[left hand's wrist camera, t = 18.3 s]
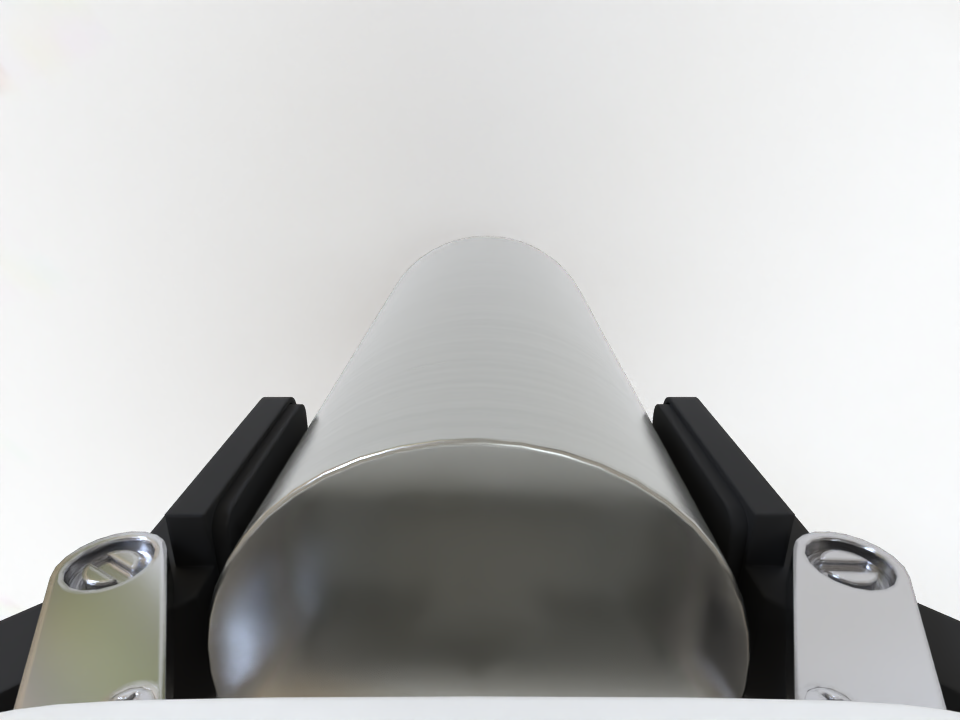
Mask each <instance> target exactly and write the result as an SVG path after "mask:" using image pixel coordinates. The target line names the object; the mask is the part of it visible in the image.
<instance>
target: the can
mask: <svg viewBox="0 0 960 720" xmlns="http://www.w3.org/2000/svg"><path fill="white" fill-rule="evenodd" d="M206 648H207V658H208V667H209V673H210V677H211V681H212V684H213V688H214V691H215V695H216V698H217V699H222V698H273V697H467V696H493V697H687V698H738V699H743V697H744V694H745V691H746V688H747V682H748V675H749V668H750V661H751V646H750V627H749V622H748V617H747V612H746V608H745V603H744V600H743V597H742V595H741V592H740V590H739V587H738V585H737V582H736V580H735V577H734V575H733V573H732V571H731V569H730V567H729V565H728V563H727V561H726V560H725V558H724V556H723V554H722V552H721V550H720V548H719V547H718V545H717V543H716V541H715V539H714V537H713V536H712V534H711V532H710V530H709V528H708V526H707V524H706V523H705V521H704V519H703V517H702V515H701V513H700V512H699V510H698V508H697V506H696V504H695V502H694V500H693V499H692V497H691V495H690V493H689V491H688V489H687V487H686V486H685V484H684V482H683V480H682V478H681V476H680V475H679V473H678V471H677V469H676V467H675V465H674V463H673V462H672V460H671V458H670V456H669V454H668V452H667V451H666V449H665V447H664V445H663V443H662V441H661V439H660V438H659V436H658V434H657V432H656V430H655V428H654V427H653V425H652V423H651V421H650V419H649V417H648V415H647V414H646V412H645V410H644V408H643V406H642V404H641V402H640V401H639V399H638V397H637V395H636V393H635V391H634V390H633V388H632V386H631V384H630V382H629V380H628V378H627V377H626V375H625V373H624V371H623V369H622V367H621V366H620V364H619V362H618V360H617V358H616V356H615V354H614V353H613V351H612V349H611V347H610V345H609V343H608V341H607V340H606V338H605V336H604V334H603V332H602V330H601V329H600V327H599V325H598V323H597V321H596V319H595V317H594V316H593V314H592V312H591V310H590V308H589V306H588V305H587V303H586V301H585V299H584V297H583V295H582V293H581V292H580V290H579V288H578V287H577V285H576V283H575V282H574V280H573V279H572V278H571V276H570V275H569V274H568V273H567V272H566V270H565V269H564V268H563V267H562V266H561V265H559V264H558V263H557V262H556V261H555V260H554V259H552V258H551V257H550V256H548V255H547V254H545V253H544V252H542V251H540V250H539V249H537V248H535V247H533V246H531V245H528V244H526V243H523V242H520V241H517V240H513V239H508V238H504V237H494V236H479V237H469V238H464V239H459V240H456V241H453V242H450V243H446V244H444V245H442V246H440V247H438V248H436V249H434V250H432V251H430V252H429V253H427V254H426V255H424V256H423V257H421V258H420V259H419V260H418V261H417V262H415V263H414V264H413V265H412V266H411V267H410V268H409V269H408V270H407V271H406V272H405V274H404V275H403V276H402V277H401V279H400V280H399V282H398V283H397V285H396V286H395V288H394V289H393V291H392V293H391V294H390V296H389V297H388V299H387V301H386V302H385V304H384V306H383V307H382V309H381V310H380V312H379V314H378V315H377V317H376V319H375V320H374V322H373V323H372V325H371V327H370V328H369V330H368V332H367V333H366V335H365V336H364V338H363V340H362V341H361V343H360V345H359V346H358V348H357V349H356V351H355V353H354V354H353V356H352V358H351V359H350V361H349V362H348V364H347V366H346V367H345V369H344V371H343V372H342V374H341V375H340V377H339V379H338V380H337V382H336V384H335V385H334V387H333V388H332V390H331V392H330V393H329V395H328V397H327V398H326V400H325V401H324V403H323V405H322V406H321V408H320V410H319V411H318V413H317V414H316V416H315V418H314V419H313V421H312V423H311V424H310V426H309V427H308V429H307V431H306V432H305V434H304V436H303V437H302V439H301V440H300V442H299V444H298V445H297V447H296V449H295V450H294V452H293V453H292V455H291V457H290V458H289V460H288V462H287V463H286V465H285V466H284V468H283V470H282V471H281V473H280V475H279V476H278V478H277V479H276V481H275V483H274V484H273V486H272V488H271V489H270V491H269V492H268V494H267V496H266V497H265V499H264V501H263V502H262V504H261V505H260V507H259V509H258V510H257V512H256V514H255V515H254V517H253V518H252V520H251V522H250V523H249V525H248V527H247V528H246V530H245V531H244V533H243V535H242V536H241V538H240V540H239V541H238V543H237V544H236V546H235V548H234V549H233V551H232V553H231V554H230V556H229V557H228V559H227V561H226V563H225V565H224V568H223V570H222V572H221V574H220V577H219V579H218V581H217V583H216V586H215V588H214V592H213V597H212V601H211V605H210V609H209V613H208V623H207V638H206Z"/></svg>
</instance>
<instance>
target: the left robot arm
mask: <svg viewBox="0 0 960 720" xmlns="http://www.w3.org/2000/svg"><path fill="white" fill-rule="evenodd" d="M652 425H653V427H654V428H655V430H656V432H657V434H658V436H659V438H660V439H661V441H662V443H663V445H664V447H665V449H666V451H667V452H668V454H669V456H670V458H671V460H672V462H673V463H674V465H675V467H676V469H677V471H678V473H679V475H680V476H681V478H682V480H683V482H684V484H685V486H686V487H687V489H688V491H689V493H690V495H691V497H692V499H693V500H694V502H695V504H696V506H697V508H698V510H699V512H700V513H701V515H702V517H703V519H704V521H705V523H706V524H707V526H708V528H709V530H710V532H711V534H712V536H713V537H714V539H715V541H716V543H717V545H718V547H719V548H720V550H721V552H722V554H723V556H724V558H725V560H726V561H727V563H728V565H729V567H730V569H731V571H732V573H733V575H734V577H735V580H736V582H737V585H738V587H739V590H740V592H741V595H742V597H743V600H744V603H745V608H746V612H747V617H748V622H749V627H750V646H751V661H750V668H749V675H748V682H747V688H746V691H745V694H744V697H743V699H738V698H687V697H493V696H467V697H273V698H222V699H217V698H216V695H215V691H214V688H213V684H212V681H211V677H210V673H209V667H208V658H207V648H206V638H207V623H208V613H209V609H210V605H211V601H212V597H213V592H214V588H215V586H216V583H217V581H218V579H219V577H220V574H221V572H222V570H223V568H224V565H225V563H226V561H227V559H228V557H229V556H230V554H231V553H232V551H233V549H234V548H235V546H236V544H237V543H238V541H239V540H240V538H241V536H242V535H243V533H244V531H245V530H246V528H247V527H248V525H249V523H250V522H251V520H252V518H253V517H254V515H255V514H256V512H257V510H258V509H259V507H260V505H261V504H262V502H263V501H264V499H265V497H266V496H267V494H268V492H269V491H270V489H271V488H272V486H273V484H274V483H275V481H276V479H277V478H278V476H279V475H280V473H281V471H282V470H283V468H284V466H285V465H286V463H287V462H288V460H289V458H290V457H291V455H292V453H293V452H294V450H295V449H296V447H297V445H298V444H299V442H300V440H301V439H302V437H303V436H304V434H305V432H306V431H307V429H308V426H307V417H306V410H305V407H304V405H303V404H296V402H295V400H294V398H293V397H263V398H262V399H261V400H260V401H259V402H258V404H257V405H256V406H255V407H254V408H253V410H252V411H251V412H250V413H249V414H248V416H247V417H246V418H245V419H244V420H243V422H242V423H241V424H240V425H239V426H238V428H237V429H236V430H235V431H234V432H233V434H232V435H231V436H230V437H229V438H228V440H227V441H226V442H225V443H224V444H223V445H222V447H221V448H220V449H219V450H218V451H217V453H216V454H215V455H214V456H213V457H212V459H211V460H210V461H209V462H208V463H207V465H206V466H205V467H204V468H203V469H202V471H201V472H200V473H199V474H198V475H197V477H196V478H195V479H194V480H193V481H192V483H191V484H190V485H189V486H188V487H187V489H186V490H185V491H184V492H183V493H182V495H181V496H180V497H179V498H178V499H177V501H176V502H175V503H174V504H173V505H172V507H171V508H170V509H169V510H168V511H167V513H166V514H165V516H164V517H163V518H162V520H161V521H160V522H159V523H158V524H157V526H156V527H155V528H154V529H153V530H152V532H151V533H148V532H126V533H119V534H114V535H110V536H107V537H104V538H101V539H97V540H95V541H93V542H91V543H89V544H86V545H84V546H82V547H80V548H79V549H77V550H76V551H74V552H73V553H71V554H70V555H68V556H66V557H65V558H64V559H63V560H62V561H61V562H60V563H59V564H58V565H57V566H56V567H55V569H54V571H53V573H52V575H51V577H50V580H49V583H48V587H47V590H46V594H45V598H44V601H43V603H41V604H39V605H36V606H34V607H32V608H29V609H27V610H25V611H22V612H20V613H18V614H15V615H13V616H11V617H8V618H6V619H4V620H2V621H0V720H960V621H958V620H956V619H954V618H951V617H949V616H947V615H944V614H942V613H940V612H937V611H935V610H933V609H930V608H928V607H926V606H923V605H921V604H919V603H917V601H916V598H915V594H914V590H913V587H912V583H911V580H910V577H909V575H908V573H907V571H906V569H905V567H904V566H903V565H902V564H901V563H900V562H899V561H898V560H897V559H896V558H895V557H894V556H892V555H890V554H889V553H887V552H886V551H884V550H883V549H881V548H880V547H878V546H876V545H873V544H871V543H869V542H867V541H865V540H863V539H859V538H856V537H853V536H850V535H846V534H841V533H834V532H812V533H809V532H808V531H807V530H806V528H805V527H804V526H803V525H802V524H801V522H800V521H799V520H798V519H797V518H796V516H795V514H794V513H793V512H792V511H791V509H790V508H789V507H788V506H787V505H786V503H785V502H784V501H783V500H782V499H781V497H780V496H779V495H778V494H777V493H776V491H775V490H774V489H773V488H772V487H771V485H770V484H769V483H768V482H767V481H766V479H765V478H764V477H763V476H762V475H761V473H760V472H759V471H758V470H757V469H756V467H755V466H754V465H753V464H752V463H751V461H750V460H749V459H748V458H747V457H746V455H745V454H744V453H743V452H742V451H741V449H740V448H739V447H738V446H737V445H736V443H735V442H734V441H733V440H732V439H731V437H730V436H729V435H728V434H727V433H726V431H725V430H724V429H723V428H722V427H721V425H720V424H719V423H718V422H717V421H716V419H715V418H714V417H713V416H712V415H711V413H710V412H709V411H708V410H707V409H706V407H705V406H704V405H703V404H702V403H701V401H700V400H699V399H698V398H696V397H667V398H666V399H665V401H664V404H657V405H656V406H655V409H654V414H653V423H652Z"/></svg>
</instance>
